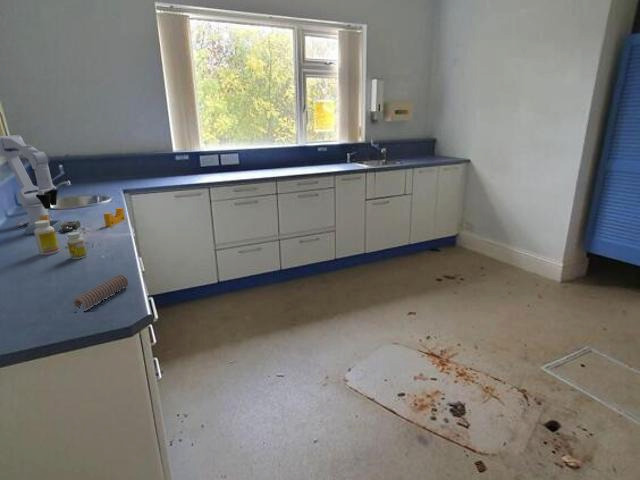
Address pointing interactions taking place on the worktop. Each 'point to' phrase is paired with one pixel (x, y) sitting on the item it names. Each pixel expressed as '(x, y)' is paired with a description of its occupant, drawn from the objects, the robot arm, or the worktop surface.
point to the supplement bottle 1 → (46, 238)
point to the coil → (101, 291)
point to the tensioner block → (70, 226)
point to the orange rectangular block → (44, 217)
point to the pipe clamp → (114, 217)
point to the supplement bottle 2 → (76, 245)
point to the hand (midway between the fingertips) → (50, 206)
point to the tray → (55, 224)
